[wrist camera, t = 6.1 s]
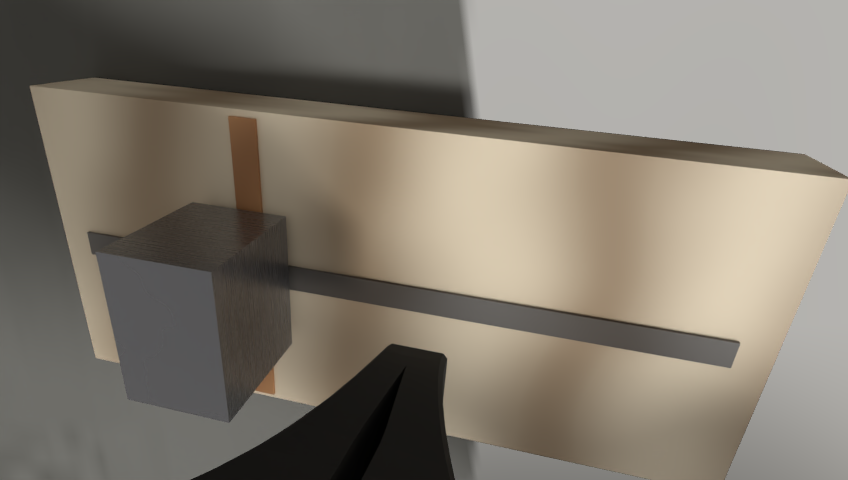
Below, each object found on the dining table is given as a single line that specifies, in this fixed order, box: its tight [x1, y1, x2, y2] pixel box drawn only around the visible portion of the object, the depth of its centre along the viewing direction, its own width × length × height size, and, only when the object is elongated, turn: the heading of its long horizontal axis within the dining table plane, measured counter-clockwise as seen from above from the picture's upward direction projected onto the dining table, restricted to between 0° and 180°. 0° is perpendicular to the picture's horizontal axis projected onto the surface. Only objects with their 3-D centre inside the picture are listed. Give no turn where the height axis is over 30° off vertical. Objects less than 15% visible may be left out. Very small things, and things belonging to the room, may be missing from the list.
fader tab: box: [95, 202, 292, 423], centre depth 14 cm, size 3×4×4 cm
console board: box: [30, 78, 848, 480], centre depth 16 cm, size 22×10×2 cm, turn 86°
